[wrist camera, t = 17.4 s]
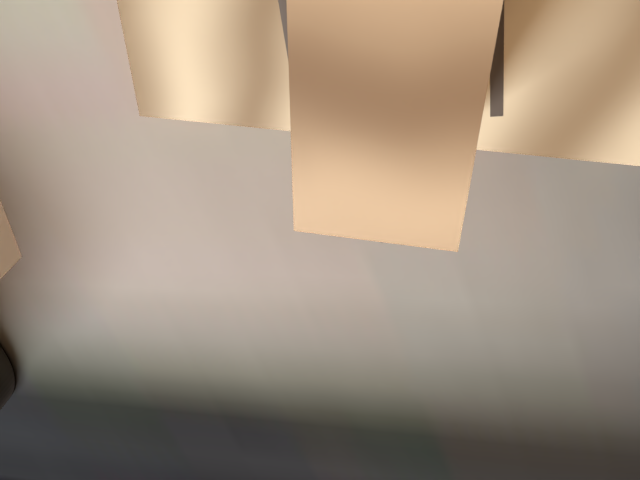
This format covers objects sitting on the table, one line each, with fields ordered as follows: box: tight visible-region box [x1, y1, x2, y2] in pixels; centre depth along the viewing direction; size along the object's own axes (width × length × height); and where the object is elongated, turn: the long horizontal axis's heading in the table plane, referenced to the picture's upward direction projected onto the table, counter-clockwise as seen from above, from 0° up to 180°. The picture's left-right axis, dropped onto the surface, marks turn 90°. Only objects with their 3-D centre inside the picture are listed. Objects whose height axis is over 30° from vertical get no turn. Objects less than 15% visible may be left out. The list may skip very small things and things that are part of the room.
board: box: [117, 0, 640, 166], centre depth 22 cm, size 24×11×2 cm, turn 90°
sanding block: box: [286, 0, 503, 252], centre depth 18 cm, size 9×5×8 cm, turn 0°
